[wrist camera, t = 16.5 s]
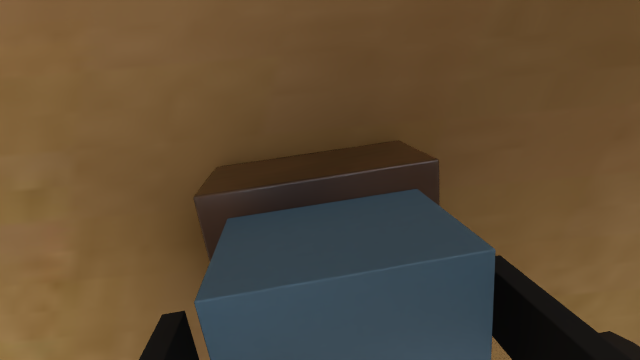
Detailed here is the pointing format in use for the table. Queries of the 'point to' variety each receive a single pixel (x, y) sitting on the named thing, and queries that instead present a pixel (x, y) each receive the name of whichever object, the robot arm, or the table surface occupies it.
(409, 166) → the walnut block
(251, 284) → the blue block
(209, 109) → the table surface
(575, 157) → the table surface
